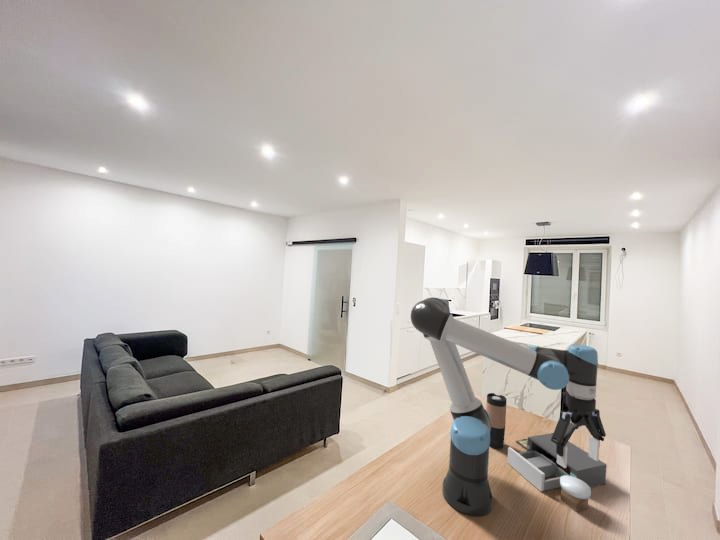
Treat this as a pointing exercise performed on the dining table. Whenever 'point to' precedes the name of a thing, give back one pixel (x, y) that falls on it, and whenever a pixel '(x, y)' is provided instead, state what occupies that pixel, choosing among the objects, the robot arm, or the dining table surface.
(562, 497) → the walnut block
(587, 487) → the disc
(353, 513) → the dining table surface
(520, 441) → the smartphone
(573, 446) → the box
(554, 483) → the light grey drawer
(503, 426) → the travel mug
